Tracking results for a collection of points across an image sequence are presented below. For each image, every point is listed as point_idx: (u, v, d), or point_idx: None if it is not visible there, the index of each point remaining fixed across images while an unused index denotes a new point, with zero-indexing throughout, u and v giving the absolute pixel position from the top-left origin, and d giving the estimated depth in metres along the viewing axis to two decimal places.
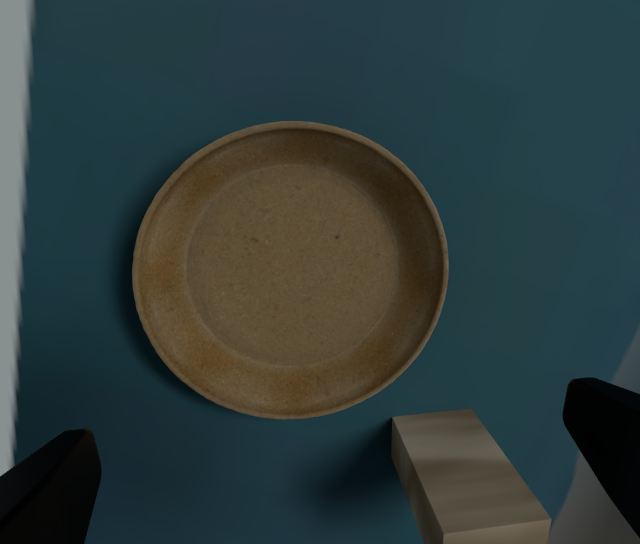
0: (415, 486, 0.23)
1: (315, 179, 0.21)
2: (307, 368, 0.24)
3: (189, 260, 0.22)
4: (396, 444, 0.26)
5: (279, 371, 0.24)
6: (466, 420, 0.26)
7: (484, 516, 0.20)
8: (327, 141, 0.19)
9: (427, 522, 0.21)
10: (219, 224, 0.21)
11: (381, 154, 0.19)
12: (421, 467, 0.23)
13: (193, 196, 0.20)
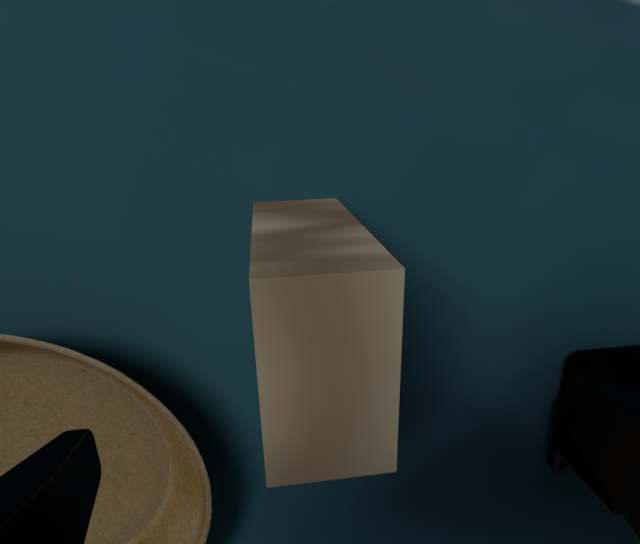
0: None
1: None
2: (171, 450, 0.18)
3: None
4: None
5: (175, 480, 0.19)
6: None
7: None
8: None
9: None
10: None
11: None
12: None
13: None
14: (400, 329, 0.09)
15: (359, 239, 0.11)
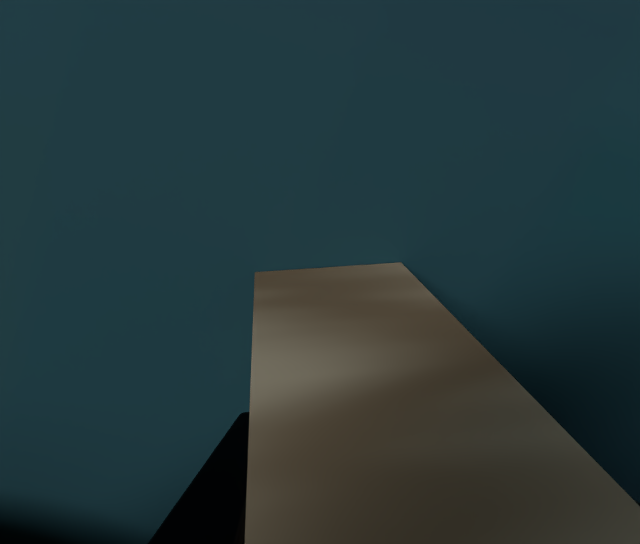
0: None
1: None
2: None
3: None
4: None
5: None
6: None
7: None
8: None
9: None
10: None
11: None
12: None
13: None
14: None
15: (560, 476, 0.04)
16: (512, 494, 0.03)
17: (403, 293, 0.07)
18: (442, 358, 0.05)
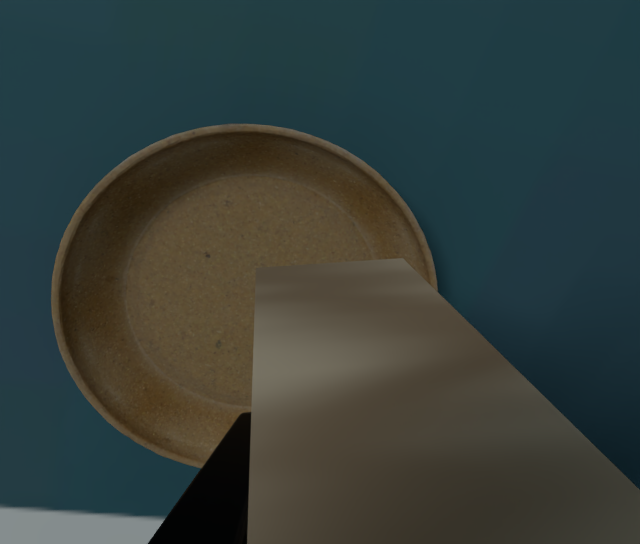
0: None
1: (139, 284, 0.18)
2: None
3: (244, 403, 0.21)
4: None
5: None
6: None
7: None
8: (79, 290, 0.17)
9: None
10: (203, 377, 0.20)
11: (72, 236, 0.15)
12: None
13: (169, 407, 0.20)
14: None
15: (567, 468, 0.04)
16: (518, 486, 0.03)
17: (405, 288, 0.07)
18: (445, 352, 0.05)
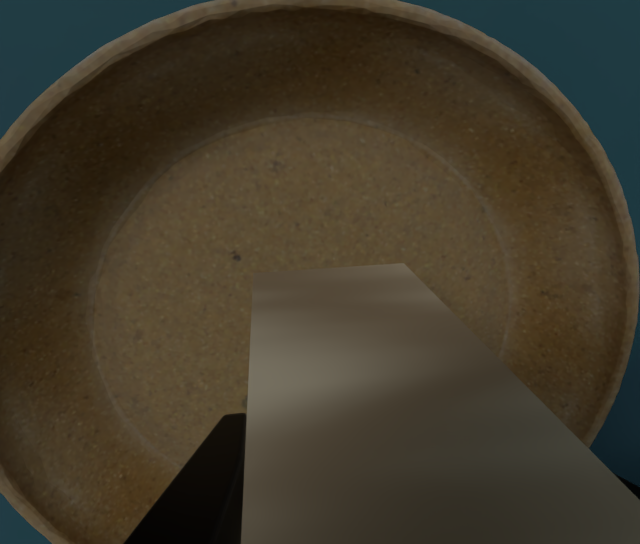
0: None
1: (117, 304, 0.11)
2: (517, 307, 0.12)
3: None
4: None
5: (511, 359, 0.12)
6: None
7: None
8: (4, 316, 0.09)
9: None
10: None
11: None
12: None
13: None
14: None
15: (581, 495, 0.03)
16: (530, 515, 0.03)
17: (407, 295, 0.07)
18: (449, 364, 0.05)
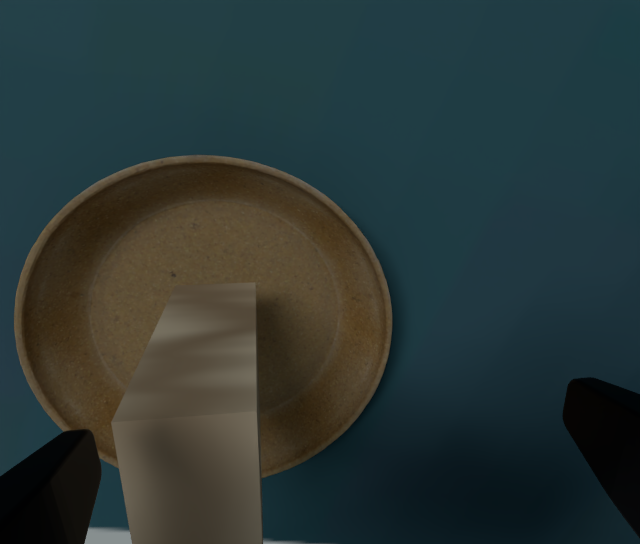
0: None
1: (104, 300, 0.19)
2: (342, 306, 0.20)
3: None
4: None
5: (341, 337, 0.21)
6: None
7: None
8: (44, 305, 0.17)
9: None
10: None
11: (38, 255, 0.16)
12: None
13: None
14: (256, 460, 0.10)
15: (240, 358, 0.12)
16: (221, 362, 0.11)
17: (242, 299, 0.15)
18: (234, 326, 0.13)
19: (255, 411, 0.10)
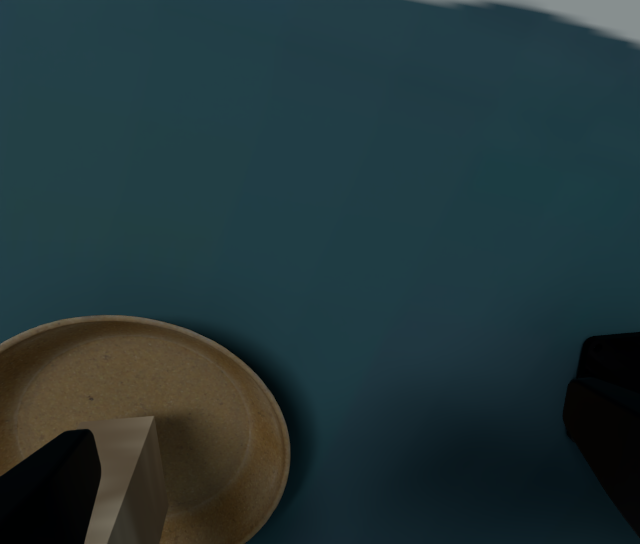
0: None
1: (29, 423, 0.21)
2: (252, 418, 0.22)
3: None
4: None
5: (253, 444, 0.22)
6: None
7: None
8: None
9: None
10: None
11: None
12: None
13: None
14: None
15: (96, 536, 0.13)
16: None
17: (132, 443, 0.17)
18: (109, 486, 0.15)
19: None
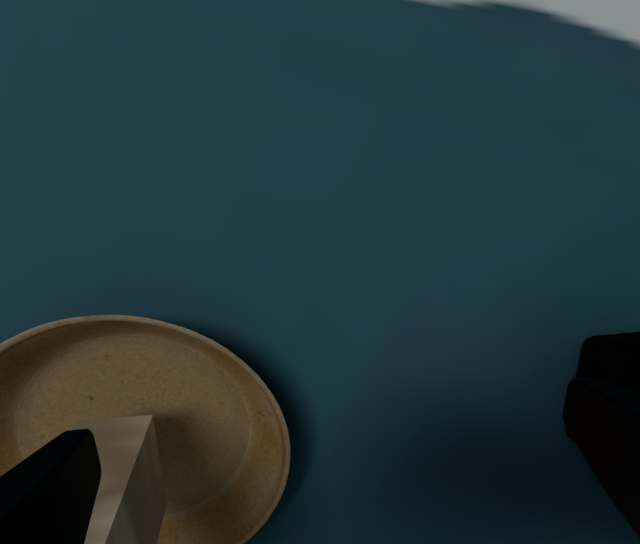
0: None
1: (30, 422, 0.21)
2: (252, 417, 0.22)
3: None
4: None
5: (253, 443, 0.22)
6: None
7: None
8: None
9: None
10: None
11: None
12: None
13: None
14: None
15: (94, 534, 0.13)
16: None
17: (130, 442, 0.17)
18: (108, 485, 0.15)
19: None
